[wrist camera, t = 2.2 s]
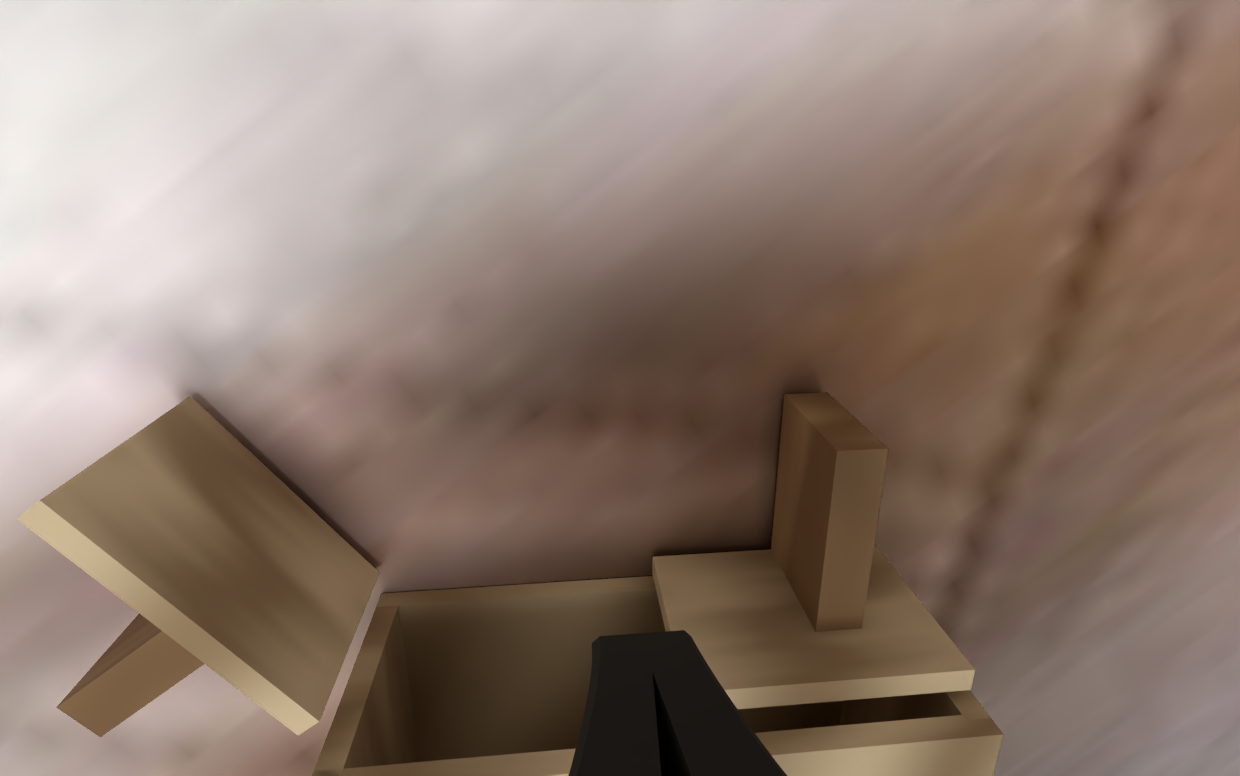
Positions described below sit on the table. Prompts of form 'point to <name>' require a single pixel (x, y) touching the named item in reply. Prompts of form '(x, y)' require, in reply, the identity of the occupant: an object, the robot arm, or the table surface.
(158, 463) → the tan wooden block
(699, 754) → the robot arm
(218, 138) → the table surface
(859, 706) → the carton
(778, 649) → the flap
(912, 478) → the table surface
